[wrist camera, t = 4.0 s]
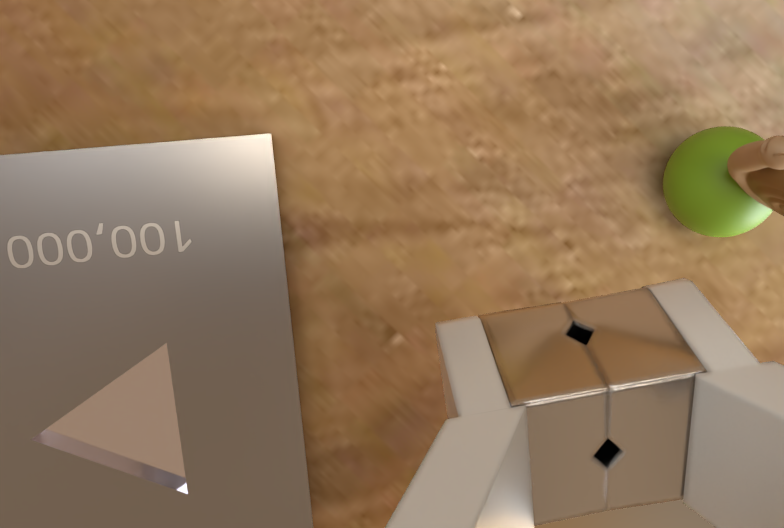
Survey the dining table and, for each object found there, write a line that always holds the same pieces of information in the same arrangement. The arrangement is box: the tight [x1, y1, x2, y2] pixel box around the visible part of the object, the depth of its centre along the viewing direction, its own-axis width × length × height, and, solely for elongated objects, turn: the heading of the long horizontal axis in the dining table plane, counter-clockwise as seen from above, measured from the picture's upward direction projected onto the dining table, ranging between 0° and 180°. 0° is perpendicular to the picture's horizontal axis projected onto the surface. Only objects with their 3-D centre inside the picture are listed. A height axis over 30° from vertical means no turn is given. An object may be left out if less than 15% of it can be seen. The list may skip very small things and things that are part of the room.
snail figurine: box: [663, 126, 784, 237], centre depth 34 cm, size 5×6×12 cm
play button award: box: [0, 133, 313, 528], centre depth 36 cm, size 16×2×20 cm
